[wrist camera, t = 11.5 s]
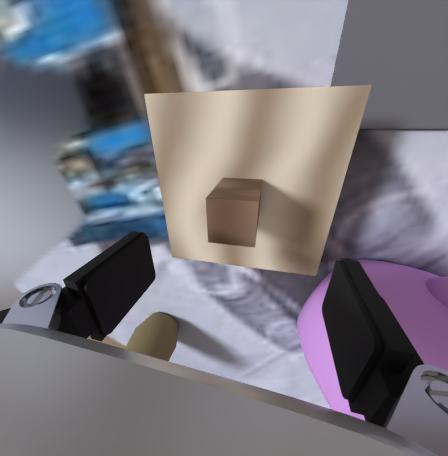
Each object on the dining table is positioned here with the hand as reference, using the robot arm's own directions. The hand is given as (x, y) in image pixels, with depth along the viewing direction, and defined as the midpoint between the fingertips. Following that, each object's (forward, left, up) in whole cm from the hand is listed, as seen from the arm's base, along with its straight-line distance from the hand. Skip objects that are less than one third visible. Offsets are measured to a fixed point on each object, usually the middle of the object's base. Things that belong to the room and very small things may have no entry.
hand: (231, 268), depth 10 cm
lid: (+1, -1, -9) cm, 9 cm away
